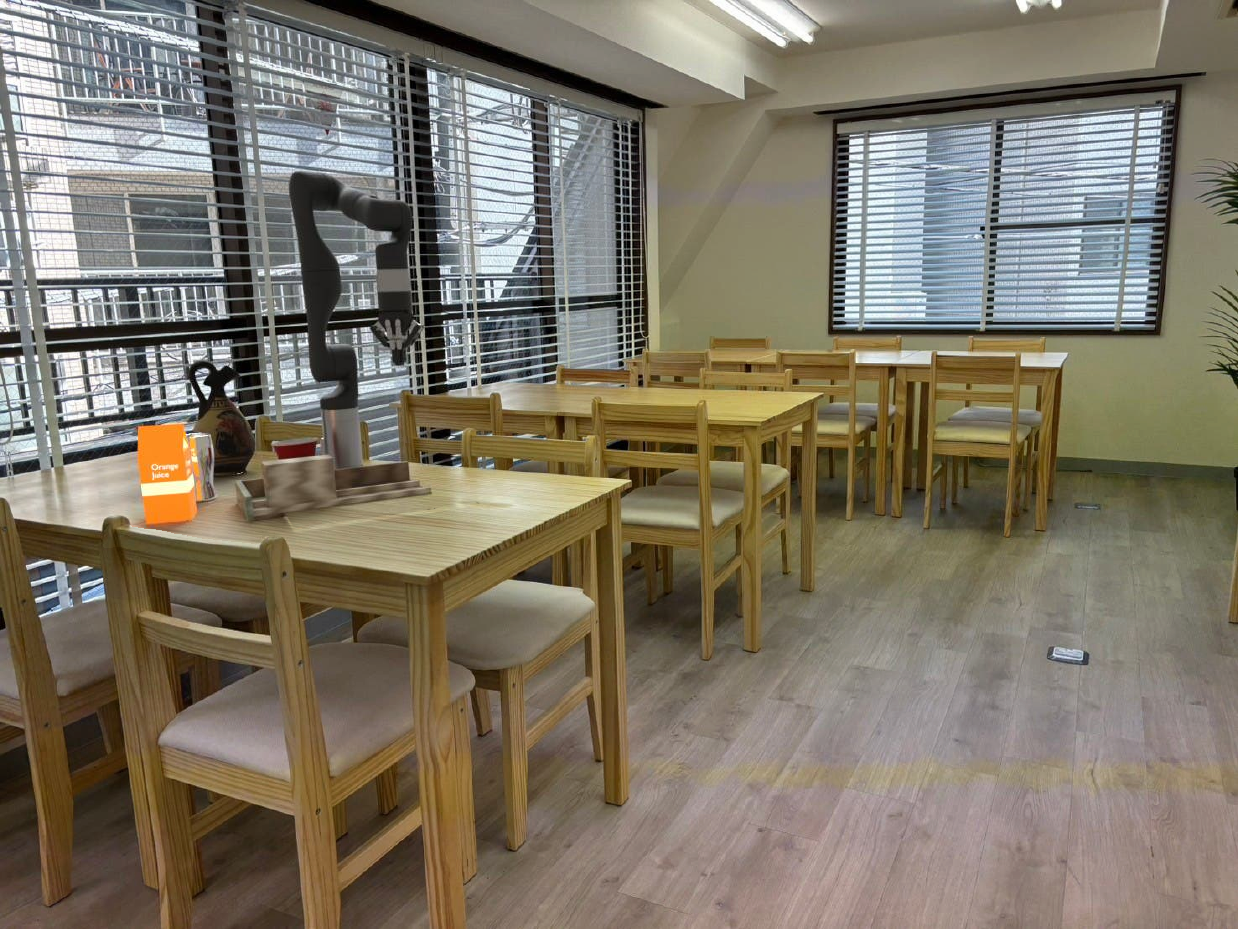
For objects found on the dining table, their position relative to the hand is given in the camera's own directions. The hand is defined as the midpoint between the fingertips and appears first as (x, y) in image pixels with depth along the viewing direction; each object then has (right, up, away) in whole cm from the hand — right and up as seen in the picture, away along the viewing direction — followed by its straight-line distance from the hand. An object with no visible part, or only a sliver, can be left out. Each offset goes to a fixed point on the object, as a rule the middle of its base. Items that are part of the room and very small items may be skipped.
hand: (399, 365), depth 212 cm
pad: (-27, -31, -8) cm, 42 cm away
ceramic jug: (-54, -26, +29) cm, 66 cm away
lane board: (-13, -31, -6) cm, 34 cm away
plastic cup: (-26, -29, +8) cm, 40 cm away
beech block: (-18, -32, -13) cm, 39 cm away
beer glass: (-45, -31, -1) cm, 55 cm away
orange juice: (-44, -35, -18) cm, 59 cm away
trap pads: (-12, -29, 0) cm, 32 cm away
